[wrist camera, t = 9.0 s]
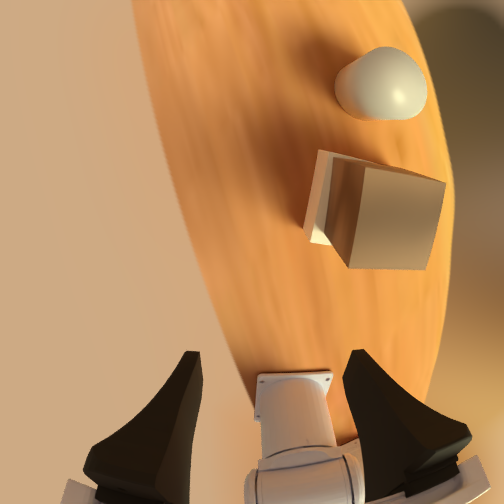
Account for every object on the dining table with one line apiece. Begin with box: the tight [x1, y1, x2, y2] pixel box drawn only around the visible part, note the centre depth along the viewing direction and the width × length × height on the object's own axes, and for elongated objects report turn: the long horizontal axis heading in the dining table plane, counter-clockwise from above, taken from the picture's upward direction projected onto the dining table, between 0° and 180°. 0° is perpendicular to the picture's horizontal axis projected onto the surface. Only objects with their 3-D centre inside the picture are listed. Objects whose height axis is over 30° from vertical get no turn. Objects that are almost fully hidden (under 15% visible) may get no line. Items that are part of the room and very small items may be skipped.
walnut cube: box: [324, 157, 446, 270], centre depth 15 cm, size 5×5×5 cm
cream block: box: [303, 149, 377, 245], centre depth 18 cm, size 6×6×3 cm
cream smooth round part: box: [334, 47, 427, 121], centre depth 14 cm, size 4×4×5 cm
